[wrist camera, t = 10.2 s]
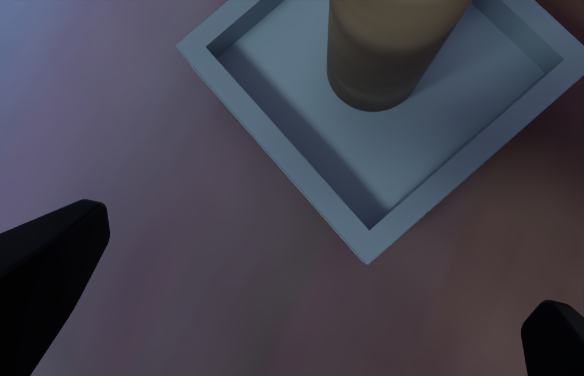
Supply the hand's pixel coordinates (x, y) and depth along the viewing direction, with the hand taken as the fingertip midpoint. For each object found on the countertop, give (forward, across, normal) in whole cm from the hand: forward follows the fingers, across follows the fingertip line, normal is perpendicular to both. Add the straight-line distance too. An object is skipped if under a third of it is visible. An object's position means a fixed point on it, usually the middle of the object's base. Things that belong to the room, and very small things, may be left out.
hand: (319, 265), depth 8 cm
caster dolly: (+15, -2, +1) cm, 15 cm away
